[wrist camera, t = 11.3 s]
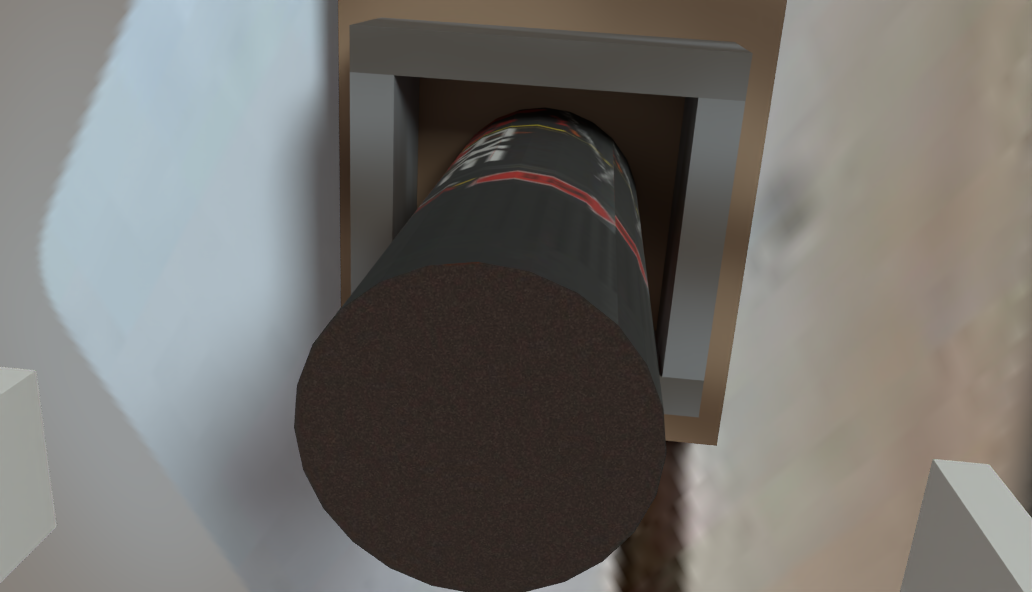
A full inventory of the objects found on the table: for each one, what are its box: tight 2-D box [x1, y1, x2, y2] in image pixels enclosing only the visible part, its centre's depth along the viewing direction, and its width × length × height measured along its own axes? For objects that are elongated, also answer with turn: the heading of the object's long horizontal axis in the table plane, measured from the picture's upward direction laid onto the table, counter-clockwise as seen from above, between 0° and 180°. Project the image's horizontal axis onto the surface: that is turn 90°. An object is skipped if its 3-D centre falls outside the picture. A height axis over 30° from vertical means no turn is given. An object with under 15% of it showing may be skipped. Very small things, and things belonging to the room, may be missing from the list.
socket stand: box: [338, 0, 787, 446], centre depth 27 cm, size 16×13×5 cm
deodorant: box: [294, 107, 666, 592], centre depth 21 cm, size 6×6×15 cm
